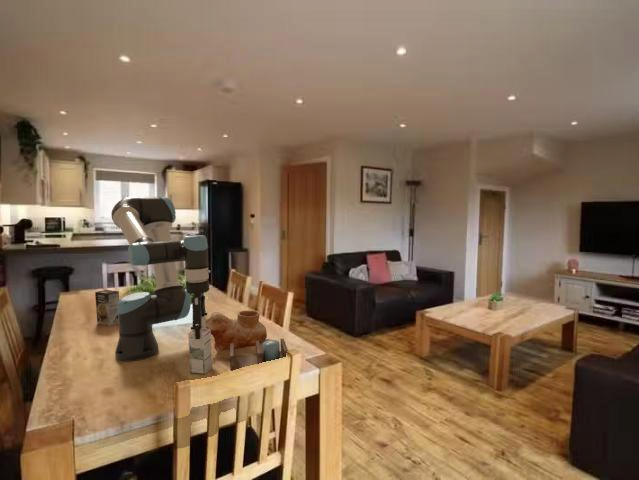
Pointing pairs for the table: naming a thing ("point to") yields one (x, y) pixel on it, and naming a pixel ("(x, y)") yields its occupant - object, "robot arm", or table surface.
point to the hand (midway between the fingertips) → (200, 340)
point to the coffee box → (107, 307)
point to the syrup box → (200, 353)
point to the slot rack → (251, 356)
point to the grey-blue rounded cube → (271, 350)
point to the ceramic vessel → (236, 329)
